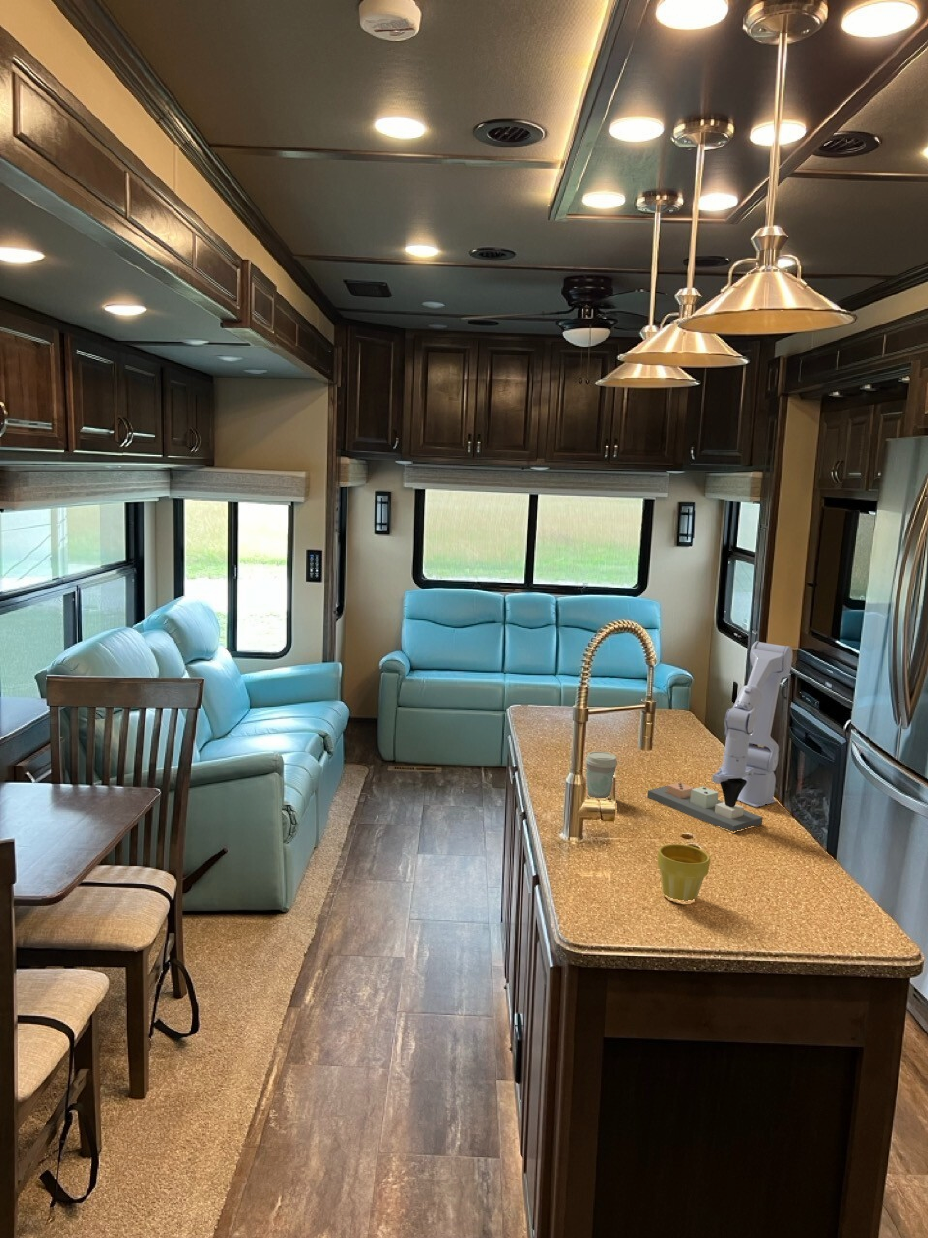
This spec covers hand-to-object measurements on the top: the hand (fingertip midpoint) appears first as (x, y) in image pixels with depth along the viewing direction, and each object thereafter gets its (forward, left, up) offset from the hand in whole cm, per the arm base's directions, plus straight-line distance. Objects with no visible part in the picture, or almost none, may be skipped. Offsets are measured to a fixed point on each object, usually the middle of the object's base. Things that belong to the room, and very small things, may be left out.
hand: (729, 805), depth 232 cm
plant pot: (+46, +22, -4) cm, 51 cm away
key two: (0, -8, -3) cm, 8 cm away
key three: (0, -16, -4) cm, 17 cm away
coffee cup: (+19, -28, -4) cm, 34 cm away
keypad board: (0, -8, -4) cm, 9 cm away
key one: (0, 0, -4) cm, 4 cm away
